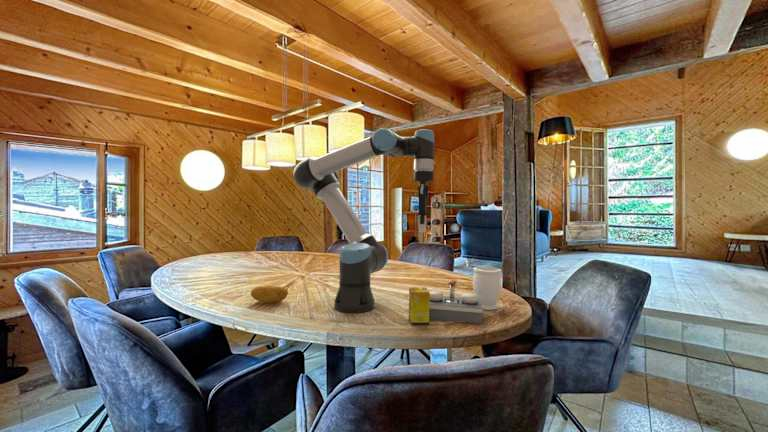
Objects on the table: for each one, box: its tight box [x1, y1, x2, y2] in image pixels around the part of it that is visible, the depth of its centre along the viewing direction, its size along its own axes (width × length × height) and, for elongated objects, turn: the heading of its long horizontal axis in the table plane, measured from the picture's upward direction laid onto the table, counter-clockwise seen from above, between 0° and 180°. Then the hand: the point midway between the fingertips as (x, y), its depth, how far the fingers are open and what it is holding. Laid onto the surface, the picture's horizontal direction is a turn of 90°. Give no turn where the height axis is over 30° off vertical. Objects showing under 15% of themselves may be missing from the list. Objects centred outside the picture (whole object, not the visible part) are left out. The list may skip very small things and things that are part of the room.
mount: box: [429, 295, 484, 324], centre depth 117 cm, size 20×12×5 cm, turn 78°
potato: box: [250, 285, 289, 304], centre depth 128 cm, size 8×14×7 cm, turn 86°
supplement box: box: [408, 286, 430, 326], centre depth 110 cm, size 6×6×11 cm
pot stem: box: [446, 279, 458, 304], centre depth 117 cm, size 4×4×12 cm
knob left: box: [428, 290, 444, 302], centre depth 119 cm, size 6×6×7 cm
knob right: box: [460, 292, 478, 305], centre depth 116 cm, size 6×6×7 cm
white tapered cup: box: [472, 265, 502, 311], centre depth 127 cm, size 11×10×15 cm
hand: (422, 232), depth 128 cm, fingers closed
